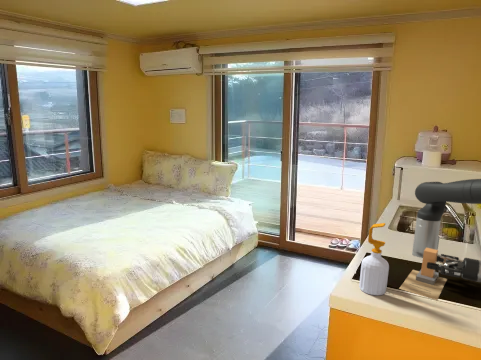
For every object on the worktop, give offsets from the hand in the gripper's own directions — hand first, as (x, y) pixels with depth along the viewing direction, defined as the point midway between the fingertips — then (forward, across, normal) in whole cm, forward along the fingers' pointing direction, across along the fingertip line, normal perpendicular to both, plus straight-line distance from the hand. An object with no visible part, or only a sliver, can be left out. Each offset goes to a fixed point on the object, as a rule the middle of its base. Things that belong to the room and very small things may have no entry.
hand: (427, 260), depth 136 cm
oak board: (0, +5, +8) cm, 10 cm away
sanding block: (-1, 0, +7) cm, 7 cm away
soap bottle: (+16, +17, +8) cm, 25 cm away
